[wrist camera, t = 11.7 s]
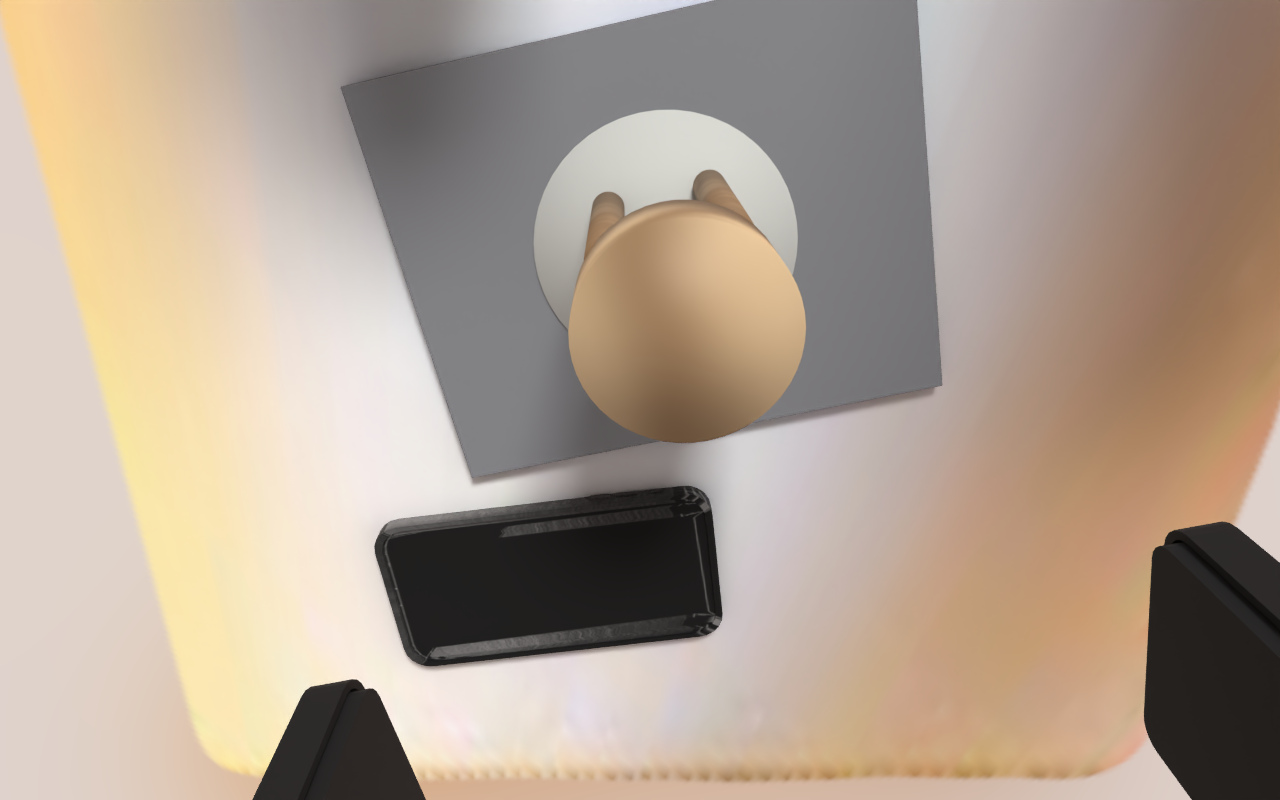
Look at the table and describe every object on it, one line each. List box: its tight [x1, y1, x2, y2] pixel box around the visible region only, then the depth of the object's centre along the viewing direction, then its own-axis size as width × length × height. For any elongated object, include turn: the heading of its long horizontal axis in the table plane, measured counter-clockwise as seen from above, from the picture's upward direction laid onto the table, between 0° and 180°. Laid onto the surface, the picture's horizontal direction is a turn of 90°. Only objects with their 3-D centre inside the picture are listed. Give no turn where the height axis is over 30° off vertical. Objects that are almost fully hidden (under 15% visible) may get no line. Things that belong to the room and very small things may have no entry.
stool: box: [568, 169, 806, 443], centre depth 27 cm, size 6×6×10 cm
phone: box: [374, 486, 722, 666], centre depth 38 cm, size 8×1×15 cm
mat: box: [341, 0, 942, 478], centre depth 32 cm, size 20×16×1 cm
